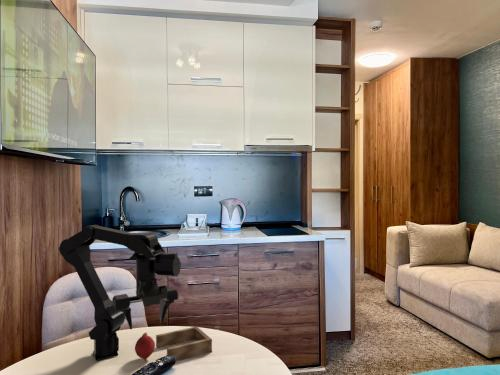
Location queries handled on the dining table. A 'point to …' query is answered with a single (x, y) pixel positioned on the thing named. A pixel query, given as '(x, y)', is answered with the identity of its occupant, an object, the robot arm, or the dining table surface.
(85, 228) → the robot arm
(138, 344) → the onion
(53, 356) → the dining table surface
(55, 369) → the dining table surface
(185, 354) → the ball
